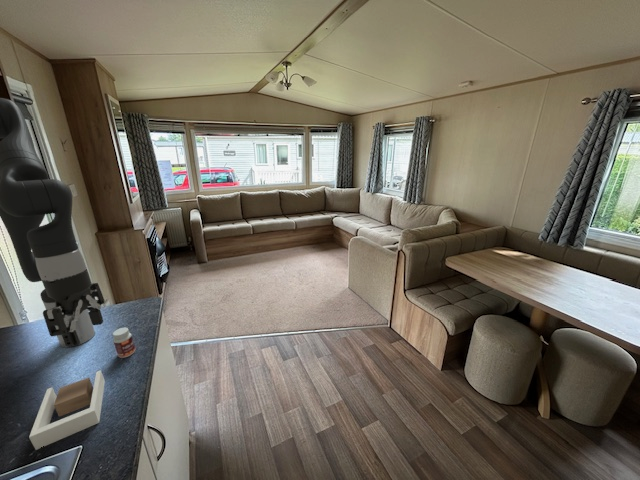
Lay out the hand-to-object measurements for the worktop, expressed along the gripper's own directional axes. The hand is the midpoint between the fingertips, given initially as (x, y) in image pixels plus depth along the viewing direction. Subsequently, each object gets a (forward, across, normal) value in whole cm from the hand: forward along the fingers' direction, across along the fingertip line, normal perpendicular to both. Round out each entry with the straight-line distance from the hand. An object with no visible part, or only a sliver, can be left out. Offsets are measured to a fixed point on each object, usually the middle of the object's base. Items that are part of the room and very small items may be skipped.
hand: (87, 334), depth 63 cm
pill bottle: (+19, -19, -5) cm, 27 cm away
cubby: (+20, +1, -8) cm, 22 cm away
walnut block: (+20, -2, -9) cm, 22 cm away
